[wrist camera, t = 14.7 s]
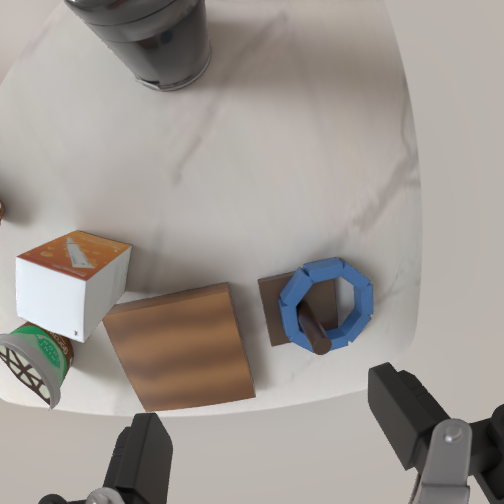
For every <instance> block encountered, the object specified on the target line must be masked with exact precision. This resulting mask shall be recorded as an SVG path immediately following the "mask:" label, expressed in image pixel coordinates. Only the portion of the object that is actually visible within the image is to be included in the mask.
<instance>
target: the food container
mask: <svg viewBox="0 0 504 504" xmlns="http://www.w3.org/2000/svg"><path fill="white" fill-rule="evenodd" d="M73 356H74V355H73V348H72V345H71V343H70V340H69V338H68V337H65V336H63V335H60V334H57V333H54V332H51V331H48V330H46V329H44V328H42V327H40V326H38V325H36V324H33V323H31V322H29V321H28V322H27V323H25V324H23V325H22V326H20V327H19V328H17V329H16V330H14V331H13V332H11V333H10V334H0V358H1V359H2V360H3V361H4V362H5V363H6V364H7V366H8V367H9V368H10V370H11V371H12V372H13V373H14V375H15V376H16V377H17V378H18V379H19V380H20V381H21V382H22V383H23V384H25V385H26V386H27V387H29V388H30V389H31V390H33V391H34V392H35V393H36V394H37V395H39V396H40V397H41V398H42V399H43V400H44V401H45V402H46V403H48V404H49V405H50V407H49V410H50V408H51V409H53V408H54V407H55V406H56V405H57V404H58V403H59V400H60V395H61V393H60V387H61V385H62V383H63V381H64V379H65V376H66V374H67V372H68V370H69V368H70V366H71V364H72V362H73ZM49 410H48V411H49Z"/></svg>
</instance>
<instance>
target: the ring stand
mask: <svg viewBox="0 0 504 504" xmlns="http://www.w3.org/2000/svg"><path fill="white" fill-rule="evenodd" d="M303 270H304V269H303ZM295 272H296V271H294V272H290V273H285V274H281V275H276V276H272V277H267V278H263V279H258V285H259V289H260V294H261V299H262V304H263V309H264V313H265V318H266V323H267V328H268V333H269V337H270V342H271V346H277V345H281V344H285V343H290V342H292V341H290V340H289V338H288V336H286V333H285V331H284V328H283V323H282V318H281V312H280V306H279V299H281V296H280V293H281V292H282V290H283V289H284V288H285V286H286V285H287V283H288V282H289V281H290V279H291V278H292V277H293V275H294V274H295ZM296 311H297V318H298V324H299V325H301V327H302V329H303V331H304V333H305V335H306V337H307V340H308V342H309V344H310V346H311V348H312V350H313V352H314V353H315V354H318V355H323V354H326V353H327V352H329V351H330V349H331V347H332V342H331V340H330V338H329V337H328V335H327V333H326V332H325V331H327V330H331V329H335V328H338V318H337V307H336V297H335V287H334V278H333V279H329V280H324V281H320V282H316V283H313V284H312V286H311V287H310V288H309V290H308V291H307V292H306V294H305V295H304V296H303V298H302V299H301V300H300V302H299V303H298V304H297V306H296Z"/></svg>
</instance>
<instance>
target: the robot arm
mask: <svg viewBox="0 0 504 504" xmlns="http://www.w3.org/2000/svg"><path fill="white" fill-rule="evenodd" d="M64 2H65V3H66V5H67V6H68V7H69V8H70V9H71V10H72V11H73V12H74V13H75V14H76V15H77V16H78V17H79V18H80V19H81V20H82V21H83V22H84V23H85V24H86V25H87V26H88V27H89V28H90V29H91V30H92V31H93V32H94V33H95V34H96V35H97V36H98V37H99V38H100V39H101V40H102V41H103V42H104V43H105V44H106V45H107V46H108V47H109V48H110V49H111V50H112V51H113V52H114V53H115V54H116V55H117V56H118V58H119V59H120V60H121V61H122V62H123V63H124V64H125V65H126V66H127V67H128V68H129V69H130V70H131V71H132V72H133V74H134V75H135V77H136V78H137V79H135V78H134V79H135V80H136V81H137V82H140V83H142V84H143V85H145V86H146V87H148V88H151V89H154V90H158V91H172V90H177V89H180V88H183V87H185V86H187V85H189V84H191V83H192V82H194V81H195V80H197V79H198V78H199V77H200V76H201V75H202V74H203V72H204V71H205V70H206V68H207V66H208V64H209V61H210V58H211V45H210V41H209V34H208V26H207V17H206V8H205V0H64ZM368 403H369V406H370V409H371V411H372V413H373V415H374V416H375V418H376V420H377V421H378V423H379V425H380V427H381V428H382V430H383V432H384V434H385V435H386V437H387V439H388V441H389V442H390V444H391V446H392V447H393V449H394V451H395V453H396V454H397V456H398V458H399V460H400V462H401V463H402V465H403V467H404V469H405V470H408V469H410V468H413V467H415V468H416V469H417V471H418V474H417V477H416V481H415V484H414V488H413V491H412V494H411V497H410V500H409V503H408V504H468V502H469V496H470V486H467V478H468V476H471V475H474V477H475V479H476V480H477V482H478V484H479V485H480V487H481V489H482V490H483V492H484V494H485V496H486V497H487V499H488V501H489V503H490V504H504V404H503V405H500V406H499V407H497V408H496V409H495V411H494V412H493V414H492V417H491V418H488V419H485V420H481V421H478V422H474V423H467V422H465V421H463V420H461V419H455V418H454V419H451V418H450V417H449V416H448V415H447V413H446V412H445V411H444V410H443V408H442V407H441V406H440V405H439V404H438V402H437V401H436V400H435V399H434V398H433V396H432V395H431V394H430V393H428V391H427V389H426V388H425V387H424V386H422V384H421V382H420V381H419V380H418V379H417V378H416V377H415V375H413V374H411V373H409V372H407V371H405V370H402V371H400V372H397V371H396V370H395V369H394V367H393V366H392V365H391V364H390V363H389V362H386V363H384V364H381V365H378V366H375V367H372V368H370V369H369V372H368ZM172 454H173V445H172V441H171V438H170V436H169V435H168V433H167V431H166V429H165V428H164V426H163V424H162V422H161V421H160V419H159V417H158V415H157V414H156V413H139V414H135V416H134V419H133V422H132V425H131V427H125V429H124V430H123V431H122V432H121V434H120V435H119V436H118V439H117V442H116V445H115V448H114V451H113V454H112V455H113V457H112V458H111V461H110V464H109V467H108V471H107V474H106V477H105V481H104V484H103V487H102V488H99V489H96V490H95V491H93V492H91V493H90V494H89V496H88V497H87V499H86V500H79V501H71V502H67V501H66V500H64V499H63V498H62V497H61V496H59V495H57V494H49V495H47V496H44V497H43V498H42V499H41V500H40V501H39V503H38V504H166V502H167V493H168V485H169V477H170V476H169V475H170V469H171V461H172Z"/></svg>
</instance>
